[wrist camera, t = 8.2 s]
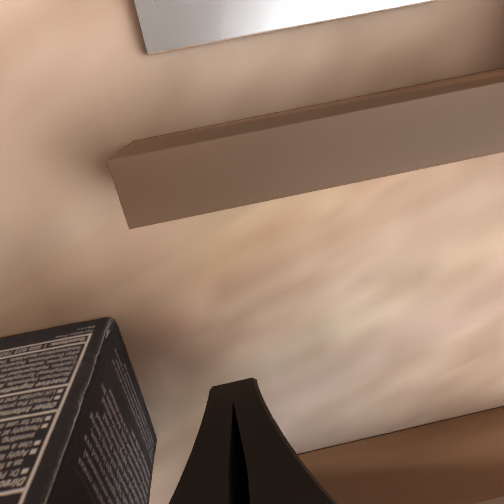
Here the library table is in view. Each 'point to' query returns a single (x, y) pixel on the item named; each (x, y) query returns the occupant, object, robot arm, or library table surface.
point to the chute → (326, 176)
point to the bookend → (241, 18)
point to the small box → (73, 419)
